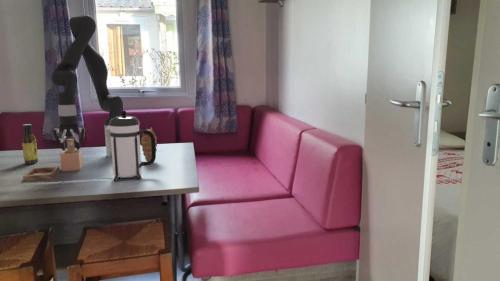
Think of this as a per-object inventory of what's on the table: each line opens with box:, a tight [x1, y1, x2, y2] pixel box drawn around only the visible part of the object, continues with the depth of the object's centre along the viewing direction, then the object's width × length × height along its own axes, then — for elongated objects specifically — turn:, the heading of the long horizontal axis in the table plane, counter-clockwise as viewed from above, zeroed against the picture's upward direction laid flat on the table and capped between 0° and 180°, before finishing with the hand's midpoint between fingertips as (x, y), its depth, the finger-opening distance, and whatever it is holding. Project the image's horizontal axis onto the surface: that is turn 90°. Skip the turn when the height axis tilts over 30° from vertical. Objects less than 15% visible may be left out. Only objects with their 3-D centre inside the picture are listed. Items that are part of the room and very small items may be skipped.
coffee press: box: [106, 109, 157, 183], centre depth 166 cm, size 17×16×30 cm
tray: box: [22, 165, 61, 184], centre depth 167 cm, size 11×14×3 cm
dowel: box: [65, 138, 76, 153], centre depth 178 cm, size 3×3×14 cm
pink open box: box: [59, 149, 84, 172], centre depth 179 cm, size 8×8×9 cm
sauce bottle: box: [21, 123, 39, 165], centre depth 191 cm, size 6×6×20 cm
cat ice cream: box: [140, 126, 158, 162], centre depth 193 cm, size 9×8×18 cm
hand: (71, 149), depth 178 cm, fingers open, 5 cm apart
